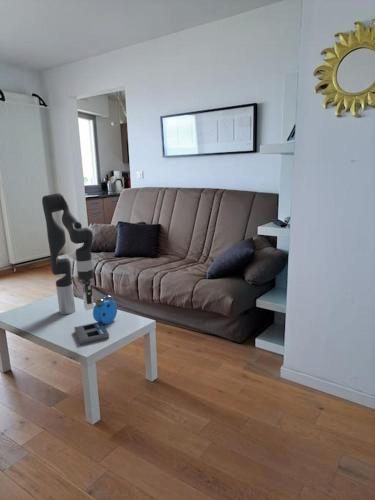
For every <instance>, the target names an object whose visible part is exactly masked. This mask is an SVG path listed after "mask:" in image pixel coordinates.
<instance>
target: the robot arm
mask: <svg viewBox="0 0 375 500" xmlns="http://www.w3.org/2000/svg"><path fill="white" fill-rule="evenodd" d="M41 201H42V202H41V204H42V208H43V212H44V218H45V224H46V235H47V241H48V247H49V248H48V249H49V253H50V254H49V255H50V268H51V273H52V274H53V275H54V276H57V275H58V276H59V275H63V276H62V277H61V278H58V279H57V280H56V281H55V286H56V295H57V296H56V297H57V303H58V310H59V311H58V312H59V314H61V315H70V314H72V313H74V312H75V311H76V304H75V303H76V302H75V294H74V289H73V287H74V286H73V280H72V279H73V278H72V268H71V267H72V265H71V260H70V259H69V258H67V257H65V258H58V256H59V254H60V252H61V251H62V250H63V248H64V247H65V244H66V241H67V240H66V231H65V230H64V229H66V230H67V232H68V235H69V239H70V241H71V243H73V244H76V245H77V244H83V245H82V246H80V247H78V248H77V249H75V258H76V259H75V260H76V274H77V279H78V280H80V281H81V286H82V293H84V292H85V293H86V298H87V304H91V303H92V299H91V296H92V293H93V285H92V282H91V279H93V278H94V277H95V276H94V275H95V274H94V267H93V266H94V265H93V260H92V252H91V251H92V244H93V239H94V233H93V230H92V229H91V228H90V227H82V226H83V225H82V223H81V222H80V221H79V219H78V218H77V217H76V215H74V213H73V211H72V209H71V207H70V204H69V203H68V201H67V199H66V198H65V197H64V195H63V194H61V193H59V192H58V193H51V194H47V195H43V196H42V199H41ZM61 211H63V212H62V215H61V222H62V225H63V226H64V227H62V226H61V225H60V224H59V222H58V221H57V220H56V219H55V218H54V216H53V213H56V212H61ZM88 293H90V294H88Z"/></svg>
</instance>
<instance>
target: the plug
mask: <svg viewBox="0 0 375 500" xmlns="http://www.w3.org/2000/svg"><path fill="white" fill-rule="evenodd" d="M88 294H90V293H88ZM82 298H83V307H84V310H85V311H91V310H93V309H94V306H95V304H94V303H95V302H94V294H93V292H92V296H91V299H92V303H91V304H87V298H86V293H85V292H82Z"/></svg>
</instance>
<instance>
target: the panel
mask: <svg viewBox="0 0 375 500" xmlns="http://www.w3.org/2000/svg"><path fill="white" fill-rule="evenodd" d="M74 334H75V336H76V338H77V340H78V342H79V345H80V346H83V345H88V344H91V343H95V342H96V343H97V342H100V341H104V340H107V339H110V334H109V332H108V330H107V328H106V327H105V325H104V324H103V323H101V322H97V321H96V322H92V323H89V324H88V323H87V324H83V325H79V326H75V327H74Z"/></svg>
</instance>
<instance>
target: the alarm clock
mask: <svg viewBox="0 0 375 500" xmlns="http://www.w3.org/2000/svg"><path fill="white" fill-rule="evenodd" d="M94 303H95V304H94V309H92V317H93V319H94V321H96V322H101V323H102V324H103V325H108V324H111V323H112V322H113V321H114V320H115V318H116V317H117V313H118V306H117V304H116V302H115V301H114V297H113V296H112V295H110V294H109V295H105V296H104V298H98V299H97V300H96V301H95V302H94Z"/></svg>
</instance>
